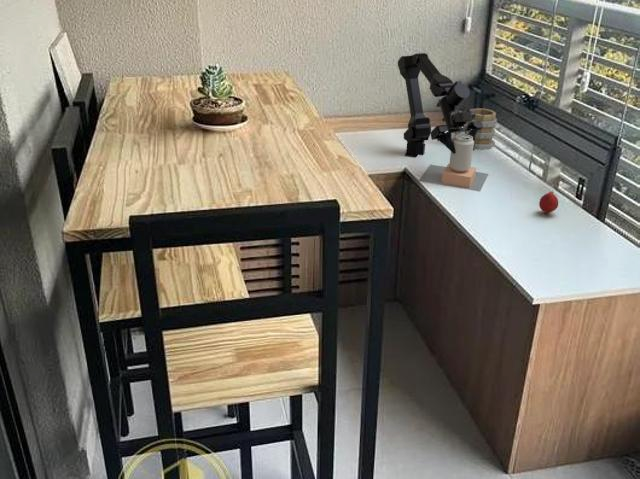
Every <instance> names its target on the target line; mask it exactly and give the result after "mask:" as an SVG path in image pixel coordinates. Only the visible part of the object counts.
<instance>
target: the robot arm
mask: <svg viewBox="0 0 640 479" xmlns="http://www.w3.org/2000/svg"><path fill="white" fill-rule="evenodd" d="M397 68H398V70H399V75H400V76H401V77H402V78H403V79H404V80H405V86H406V94H407V99H408V107H409V113H410V118H409V121H408V123H407V129H406V130H405V131H404V133H403V139H404V140H405V141H406V150H405V154H404V156H407V157H412V158H417V157H418V156H423V155H425V154H426V153H425V151H426V143H425V141H429V138H430V137H431V140H432V141H433V140H437V142H440V143H441V144H443V145H444V146H445V147H446V148H447V149H448V150H449V151H450V153H451V152H452V153H453V154H455V153H456V151H455V147H454V144H453V141H452V140H453V137H452V134H455V133H457V132H460V133H464V134H465V133H466V134H467V135H470V136H472V137H473V141H474V147H473V152H474V151H475V150H476V149H475V135H476V134H477V133H478V132H479V131H480V130H481V129H482V128H483V124H482V122H480V121H475V122H471V123H470V124H469V125H468V126H467V121H472V118H475V116H476V115H475V111H474V109H475V108H469V109H467V110H466V111H462V109H461V110H460V109H459V106H460V105H462V103H463V102H464V101H466V99H467V98H469V96H470V94H471V92H470V88H469V87H468V86H467V85H466V84H464V83H462V81H461V80H456V81H455V82H453V81H452V79H451V78H450V77H448V76H446V75H443V74H442V73H441V72H440V71H439V70H438V68H437V67H436V65H434V64H433V62H432V61H431V59H430V58H429V56H428V53H426V52H419V53H418V52H417V53H414V54H412V55H411V54H410V55H403V56H401V57H400V58H398V61H397ZM420 73H421V74H423V75H424V77H425V79H427V81H428V83H429V90H430V92H431V94H432V95H433V97H435V98H439V97H441V98H440V99H438V102H437V103H436V108H440V111H441V112H442V113H441V114H442V116H443V118H442V122H443V123H445V124H440V125H436V126H435V127H434V128H433V129H432V126H431V121H430V120H431V119H430V117H428V116H426V115H425V114H424V110H423V103H422V97H421V96H422V95H421V89H420V83H419V82H420V81H419V75H420Z"/></svg>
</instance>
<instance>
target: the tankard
mask: <svg viewBox="0 0 640 479" xmlns="http://www.w3.org/2000/svg"><path fill="white" fill-rule="evenodd" d="M473 109H474V111H475V115H476V116H475V118H472V121H467V123H466V126H468V125H469V124H470V123H471V122H475V121H480V122H482V124H483V128H482V129H481V130H480V131H479V132H478V133H477V134H476V135H475V150H479V149H480V150H490V149H492V148H493V147H494V146H495V145H496V141H494V139H493V137H494V136H495V133H496V130H495V126H496V125H497V121H498V119H497V117H496V115H497V112H495V111H494V110H491V109H487V108H473ZM457 134H461V132H457V133H454V136H455V135H457ZM464 134H466V133H465V132H464Z"/></svg>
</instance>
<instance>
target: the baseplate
mask: <svg viewBox="0 0 640 479" xmlns="http://www.w3.org/2000/svg"><path fill="white" fill-rule="evenodd" d="M446 167H447V166H442V165H437V164H429V165H428V167H427V168H426V170H425V171H424V172H423V173H422V175H421V177H420V178H419V179H418V182H422V183H423V182H424V183H429V184H435V185H439V186H440V185H441V186H445V187H452V188H458V189H464V190H470V191H475V192H481V190H482V189H483V186H484V184H485V182H486V181H487V179H488V176H489V173H487V172H486V173H485V172H480V171H476V172H475V178H474V180H473V182H472V184H471V186H470V188H467V187H461V186H455V185H449V184H444V183H441V181H442V173H443V171H444V170H445V168H446Z"/></svg>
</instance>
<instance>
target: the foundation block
mask: <svg viewBox="0 0 640 479" xmlns="http://www.w3.org/2000/svg"><path fill="white" fill-rule="evenodd" d="M445 167H446V168H445V170H444V171H443V173H442V181H441V183H444V184H449V185H455V186H461V187H467V188H470V186H471V184H472V182H473V180H474V178H475V172H477V167H474V166H471V167H470V169H468V170H467V171H463V172H460V171H455V170H453V169H451V167H450V166H449V163H448V164H447V166H445Z"/></svg>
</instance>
